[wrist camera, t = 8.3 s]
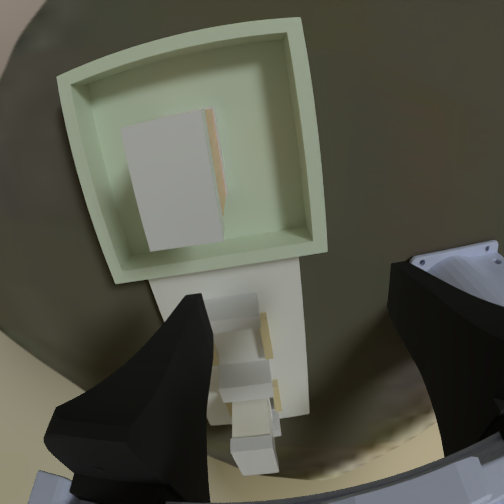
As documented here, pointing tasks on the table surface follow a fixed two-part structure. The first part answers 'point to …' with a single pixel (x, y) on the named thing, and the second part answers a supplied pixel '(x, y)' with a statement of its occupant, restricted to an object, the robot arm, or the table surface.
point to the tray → (231, 134)
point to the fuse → (253, 437)
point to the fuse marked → (178, 178)
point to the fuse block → (249, 334)
